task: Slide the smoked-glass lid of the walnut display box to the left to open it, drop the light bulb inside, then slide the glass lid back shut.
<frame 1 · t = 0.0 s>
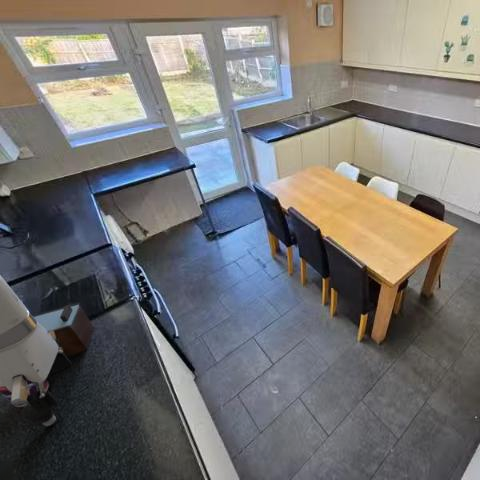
hand: (56, 386, 58), 25 cm above the worktop, tool pointing down, fingers open, 9 cm apart
pill bottle: (33, 395, 83), on the worktop
glass lid: (46, 319, 91), point 13 cm above the worktop, slide at 0.0 cm
display box: (66, 346, 98), on the worktop
light bulb: (52, 423, 75), on the worktop
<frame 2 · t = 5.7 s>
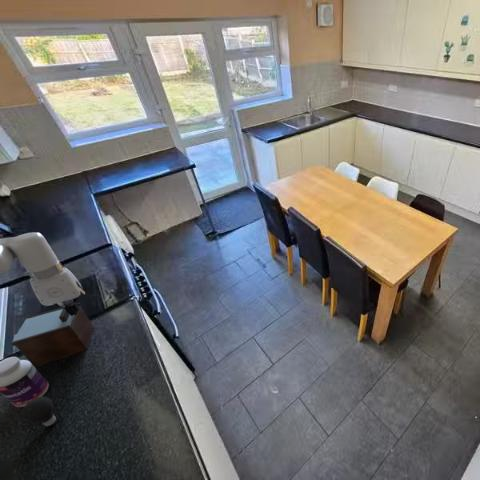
hand: (75, 312, 94), 13 cm above the worktop, tool pointing down, fingers closed
glass lid: (45, 320, 91), point 13 cm above the worktop, slide at 0.3 cm, touching gripper
everything else where it was.
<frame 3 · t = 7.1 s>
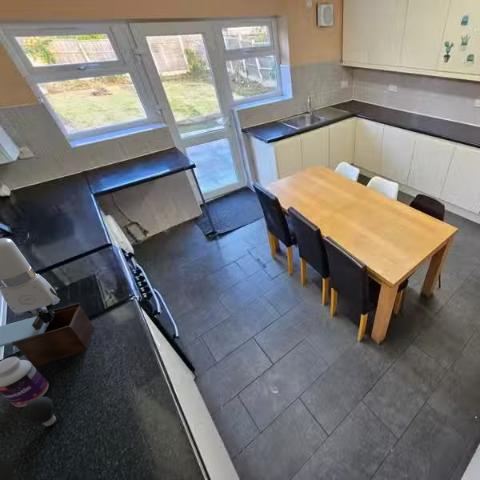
hand: (49, 319, 92), 13 cm above the worktop, tool pointing down, fingers closed
glass lid: (18, 327, 89), point 13 cm above the worktop, slide at 7.3 cm, touching gripper
everything else where it was.
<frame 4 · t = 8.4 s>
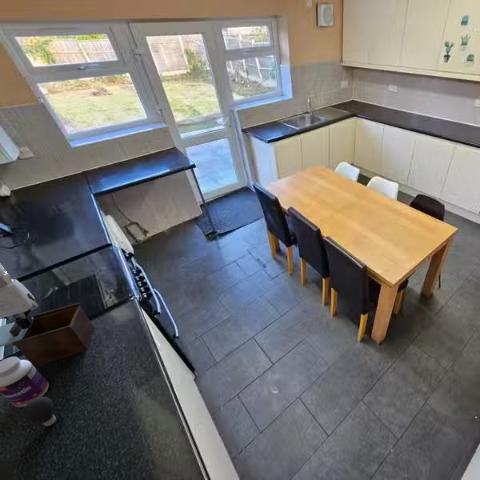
hand: (28, 325, 90), 13 cm above the worktop, tool pointing down, fingers closed
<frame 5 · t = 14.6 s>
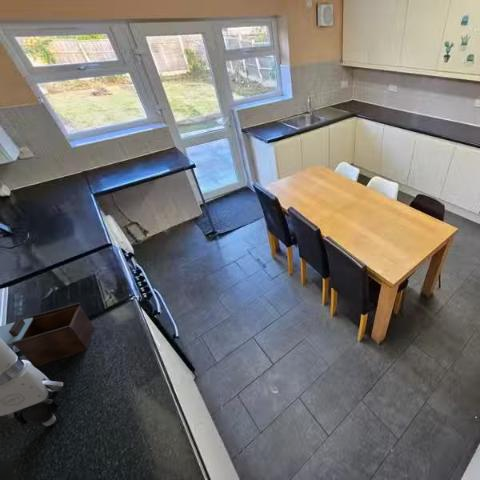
hand: (42, 413, 73), 5 cm above the worktop, tool pointing down, fingers closed on light bulb, 5 cm apart
light bulb: (52, 423, 75), on the worktop, touching gripper
when the fingers open (7 cm above the worktop, at t = 23.6 s): light bulb drops 2 cm, resting on display box.
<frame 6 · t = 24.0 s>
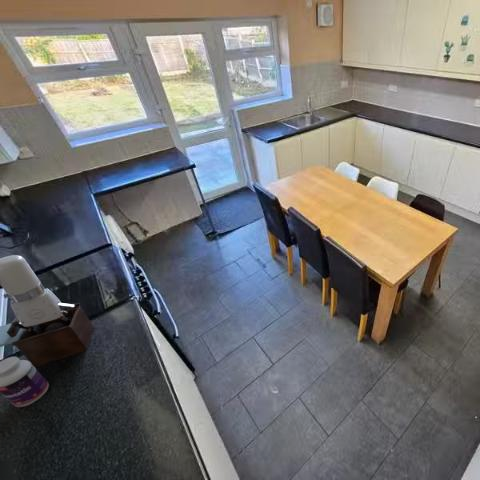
hand: (56, 330, 94), 8 cm above the worktop, tool pointing down, fingers open, 7 cm apart
light bulb: (67, 344, 98), resting on display box
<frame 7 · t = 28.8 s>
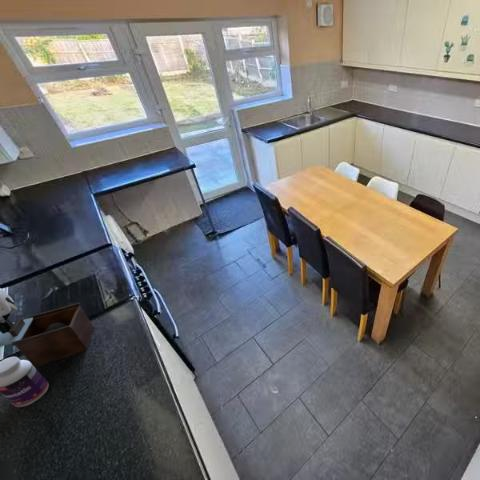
hand: (8, 329, 88), 14 cm above the worktop, tool pointing down, fingers closed
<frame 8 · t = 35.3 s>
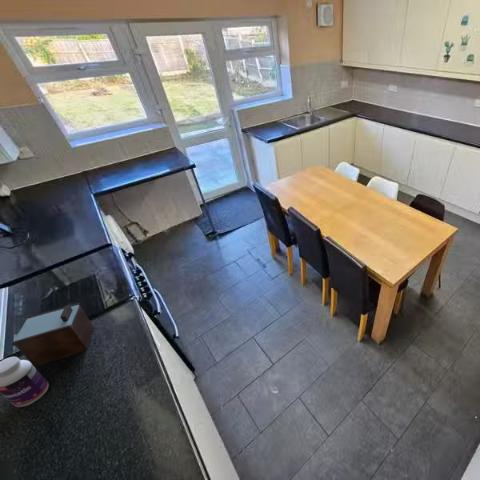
glass lid: (46, 319, 91), point 13 cm above the worktop, slide at 0.0 cm
everything else where it was.
at the end: glass lid pulled out 13.6 cm at the most during the clip, back to where it started at the end; light bulb inside the target area on the display box (0.3 cm from its centre), point 0.4 cm above the display box's base; glass lid slide at 0.0 cm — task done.
